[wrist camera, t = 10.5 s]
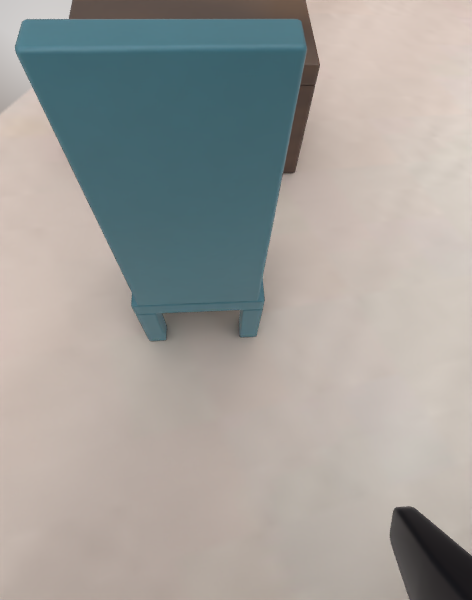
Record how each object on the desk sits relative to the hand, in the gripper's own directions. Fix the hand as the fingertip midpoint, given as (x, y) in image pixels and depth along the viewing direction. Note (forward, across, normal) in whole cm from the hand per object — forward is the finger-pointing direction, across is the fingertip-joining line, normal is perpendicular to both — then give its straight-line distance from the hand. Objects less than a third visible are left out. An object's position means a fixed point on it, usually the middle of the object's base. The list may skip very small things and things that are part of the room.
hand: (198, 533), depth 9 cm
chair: (+12, 0, -2) cm, 12 cm away
